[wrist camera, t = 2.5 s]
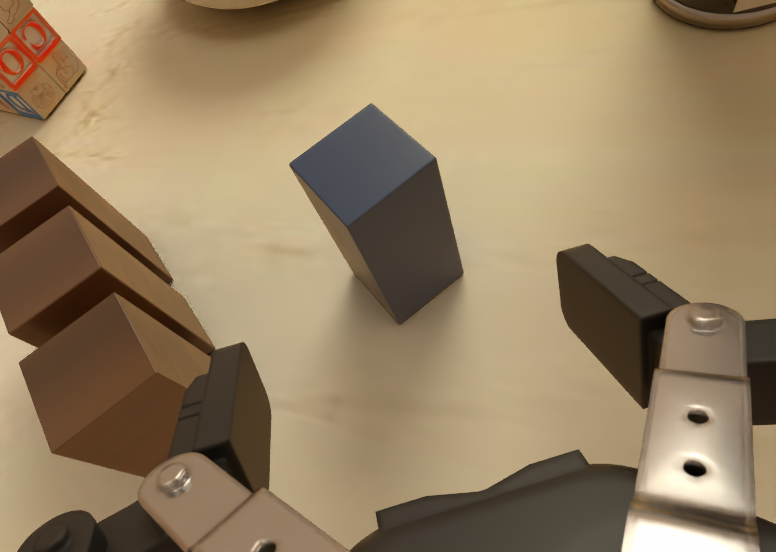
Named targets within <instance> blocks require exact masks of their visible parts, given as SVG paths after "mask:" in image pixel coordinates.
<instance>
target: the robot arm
mask: <svg viewBox="0 0 776 552" xmlns="http://www.w3.org/2000/svg"><path fill="white" fill-rule="evenodd" d="M655 2H656V3H657V4H658V5H659V6H660V7H661V8H662V9H663V10H664V11H665V12H666V13H668V14H669V15H671V16H673V17H675V18H677V19H679V20H681V21H683V22H686V23H689V24H693V25H697V26H701V27H707V28H716V29H736V28H746V27H752V26H757V25H761V24H764V23H768V22H771V21H773V20H776V0H655ZM556 261H557V271H558V281H559V290H560V300H561V308H562V312H563V315H564V318H565V320H566V322H567V324H568V326H569V327H570V329H571V330H572V331H573V332H574V333H575V334H576V335H577V337H578V338H579V339H580V340H581V341H582V342H583V343H584V344H585V345H586V347H587V348H588V349H589V350H590V351H591V352H592V353H593V354H594V355H595V356H596V358H597V359H598V360H599V361H600V362H601V363H602V364H603V365H604V366H605V368H606V369H607V370H608V371H609V372H610V373H611V374H612V375H613V376H614V377H615V379H616V380H617V381H618V382H619V383H620V384H621V385H622V386H623V387H624V389H625V390H626V391H627V392H628V393H629V394H630V395H631V396H632V397H633V398H634V400H635V401H636V402H637V403H638V404H639V405H640V406H641V407H642V408H643V409H645V408H648V411H647V418H646V424H645V430H644V436H643V442H642V449H641V455H640V461H639V467H638V469H636V468H632V467H627V466H622V465H613V464H588V462H587V461H586V459H585V458H584V456H583V455H582V453H581V452H580V450H579V449H578V450H575V451H572V452H569V453H565V454H562V455H559V456H556V457H552V458H549V459H546V460H543V461H539V462H536V463H533V464H530V465H528V466H526V467H524V468H523V469H521V470H519V471H517V472H516V473H514V474H512V475H510V476H509V477H507V478H505V479H503V480H502V481H500V482H498V483H496V484H495V485H493V486H491V487H489V488H488V489H486V490H483V491H479V492H469V493H458V494H446V495H435V496H425V497H422V498H419V499H416V500H412V501H409V502H406V503H403V504H399V505H396V506H393V507H390V508H386V509H383V510H380V511H376V517H377V523H378V528H379V529H378V530H376V531H374V532H373V533H371V534H369V535H368V536H367V537H365V538H364V539H363V540H361V541H360V542H359V543H358V544H356V545H355V546H354V547H353V548H352V549H351V550H350V551H349V550H348V549H346V548H345V547H344V546H342V545H341V544H340V543H338V542H337V541H336V540H334V539H333V538H332V537H330V536H329V535H328V534H326V533H325V532H324V531H322V530H321V529H320V528H318V527H317V526H316V525H314V524H313V523H312V522H310V521H309V520H308V519H306V518H305V517H304V516H302V515H301V514H300V513H298V512H297V511H296V510H294V509H293V508H292V507H290V506H289V505H288V504H286V503H285V502H284V501H282V500H281V499H280V498H278V497H277V496H276V495H274V494H273V493H272V492H270V491H269V471H270V440H271V409H270V404H269V400H268V396H267V393H266V391H265V388H264V386H263V383H262V381H261V378H260V376H259V374H258V371H257V369H256V366H255V364H254V362H253V359H252V357H251V354H250V352H249V350H248V348H247V346H246V344H245V343H244V342H242V343H238V344H235V345H231V346H228V347H224V348H221V349H218V350H214V351H213V352H212V356H211V361H210V366H209V371H208V373H206V374H203V375H199V376H197V377H196V378H195V379H194V380H193V382H192V383H191V384H190V386H189V387H188V388H187V390H186V391H185V393H184V397H183V401H182V404H181V410H180V412H179V416H178V422H177V424H176V427H175V431H174V435H173V439H172V443H171V447H170V450H169V454H168V458H167V460H166V461H164V462H163V463H161V464H160V465H158V466H157V467H156V468H155V469H153V470H152V471H151V472H150V473H149V474H148V476H147V477H146V478H145V479H144V481H143V482H142V484H141V486H140V488H139V492H138V500H137V501H136V502H135V503H133V504H131V505H130V506H128V507H126V508H124V509H122V510H121V511H119V512H117V513H115V514H113V515H111V516H109V517H108V518H106V519H104V520H102V521H100V522H98V523H97V522H96V521H95V519H94V518H93V516H92V515H91V514H90V513H88V512H86V511H82V510H76V511H70V512H67V513H64V514H61V515H59V516H57V517H55V518H53V519H51V520H49V521H48V522H46V523H45V524H43V525H42V526H41V527H39V528H38V529H37V530H36V531H34V532H33V533H32V534H31V535H30V536H29V537H28V538H27V539H26V540H25V542H24V543H23V544H22V545H21V547H20V548H19V550H18V551H17V552H776V524H774V523H772V522H769V521H767V520H765V519H762V518H760V517H757V516H756V506H755V482H754V457H753V432H752V425H773V424H776V319H765V320H753V321H745V320H744V318H743V317H742V316H741V315H740V314H739V313H738V312H737V311H735V310H733V309H731V308H729V307H726V306H723V305H719V304H713V303H690V302H688V301H687V300H686V299H684V298H683V297H681V296H680V295H679V294H677V293H676V292H674V291H673V290H672V289H670V288H669V287H668V286H666V285H665V284H663V283H662V282H661V281H659V282H658V280H657V279H656V278H655V277H654V276H652V275H651V274H647V272H646V271H645V270H644V269H642V268H641V267H640V266H638V265H637V264H635V263H634V262H632V261H628V260H625V259H622V258H619V257H615V256H612V257H609V258H607V257H606V256H604V255H603V254H602V253H600V252H599V251H598V250H597V249H595V248H594V247H593V246H591V245H590V244H584V245H581V246H577V247H574V248H570V249H567V250H563V251H560V252H558V254H557V260H556Z"/></svg>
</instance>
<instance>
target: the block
mask: <svg viewBox="0 0 776 552" xmlns="http://www.w3.org/2000/svg"><path fill="white" fill-rule="evenodd" d="M289 165H290V167H291V169H292V171H293V172H294V174H295V176H296V177H297V179H298V181H299V182H300V184H301V186H302V187H303V189H304V191H305V192H306V194H307V196H308V197H309V199H310V201H311V202H312V204H313V206H314V207H315V209H316V211H317V212H318V214H319V216H320V218H321V219H322V221H323V223H324V224H325V226H326V228H327V229H328V231H329V233H330V234H331V236H332V238H333V239H334V241H335V243H336V244H337V246H338V248H339V249H340V251H341V253H342V254H343V256H344V258H345V259H346V261H347V263H348V264H349V266H350V268H351V269H352V271H353V273H354V274H355V275H356V276H357V277H358V278H359V279H360V281H361V282H362V283H363V284H364V285H365V286H366V287H367V289H368V290H369V291H370V292H371V293H372V294H373V295H374V297H375V298H376V299H377V300H378V301H379V302H380V304H381V305H382V306H383V307H384V308H385V309H386V310H387V312H388V313H389V314H390V315H391V316H392V317H393V318H394V320H395V321H396V322H397V323H398V324H399V325H400V324H402V323H403V322H404V321H406V320H407V319H408V318H409V317H410V316H412V315H413V314H414V313H415V312H417V311H418V310H419V309H420V308H422V307H423V306H424V305H425V304H427V303H428V302H429V301H430V300H432V299H433V298H434V297H435V296H436V295H438V294H439V293H440V292H441V291H443V290H444V289H445V288H446V287H448V286H449V285H450V284H451V283H453V282H454V281H455V280H456V279H458V278H459V277H460V276H461V275H463V268H462V264H461V260H460V256H459V252H458V247H457V243H456V239H455V235H454V231H453V227H452V222H451V218H450V214H449V210H448V206H447V201H446V197H445V193H444V189H443V185H442V180H441V176H440V172H439V168H438V164H437V159H436V158H435V157H434V156H433V155H432V154H431V153H430V152H428V151H427V150H426V149H425V148H424V147H422V146H421V145H420V144H419V143H418V142H417V141H415V140H414V139H413V138H412V137H411V136H410V135H408V134H407V133H406V132H405V131H404V130H403V129H401V128H400V127H399V126H398V125H397V124H395V123H394V122H393V121H392V120H391V119H390V118H388V117H387V116H386V115H385V114H384V113H383V112H381V111H380V110H379V109H378V108H377V107H376V106H374V105H373V104H372V103H371V104H369V105H368V106H367V107H365V108H364V109H363V110H361V111H360V112H358V113H357V114H356V115H354V116H353V117H352V118H350V119H349V120H348V121H346V122H345V123H344V124H342V125H341V126H340V127H338V128H337V129H335V130H334V131H333V132H331V133H330V134H329V135H327V136H326V137H325V138H323V139H322V140H321V141H319V142H318V143H316V144H315V145H314V146H312V147H311V148H310V149H308V150H307V151H306V152H304V153H303V154H302V155H300V156H299V157H297V158H296V159H295V160H293V161H292V162H291V163H290V164H289Z"/></svg>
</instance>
